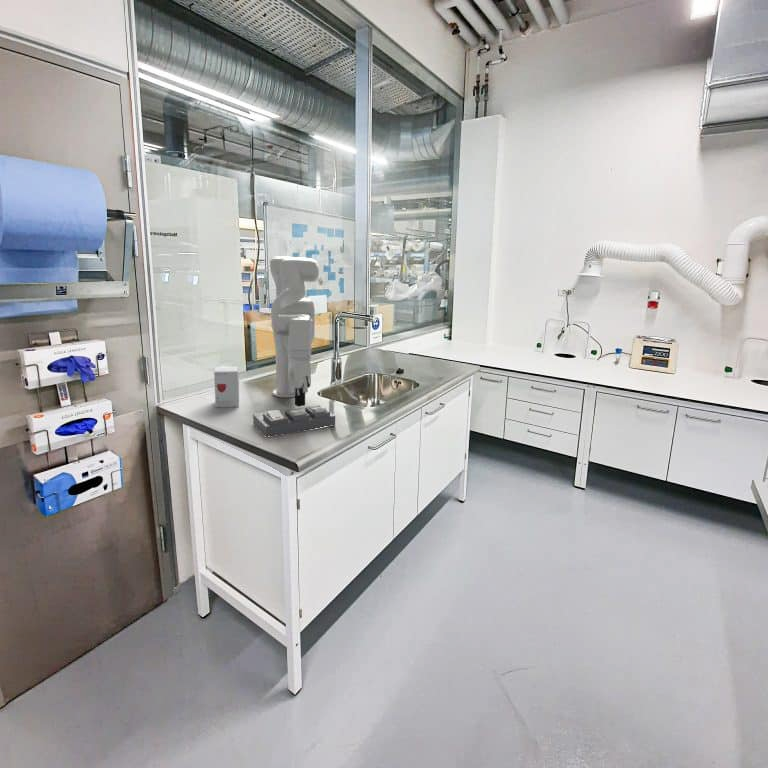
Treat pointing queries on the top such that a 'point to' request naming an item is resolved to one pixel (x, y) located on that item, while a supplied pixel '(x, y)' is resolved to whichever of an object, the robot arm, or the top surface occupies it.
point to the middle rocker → (297, 412)
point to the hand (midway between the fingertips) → (300, 405)
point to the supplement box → (226, 386)
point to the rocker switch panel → (293, 421)
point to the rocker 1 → (275, 415)
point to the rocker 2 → (318, 409)
